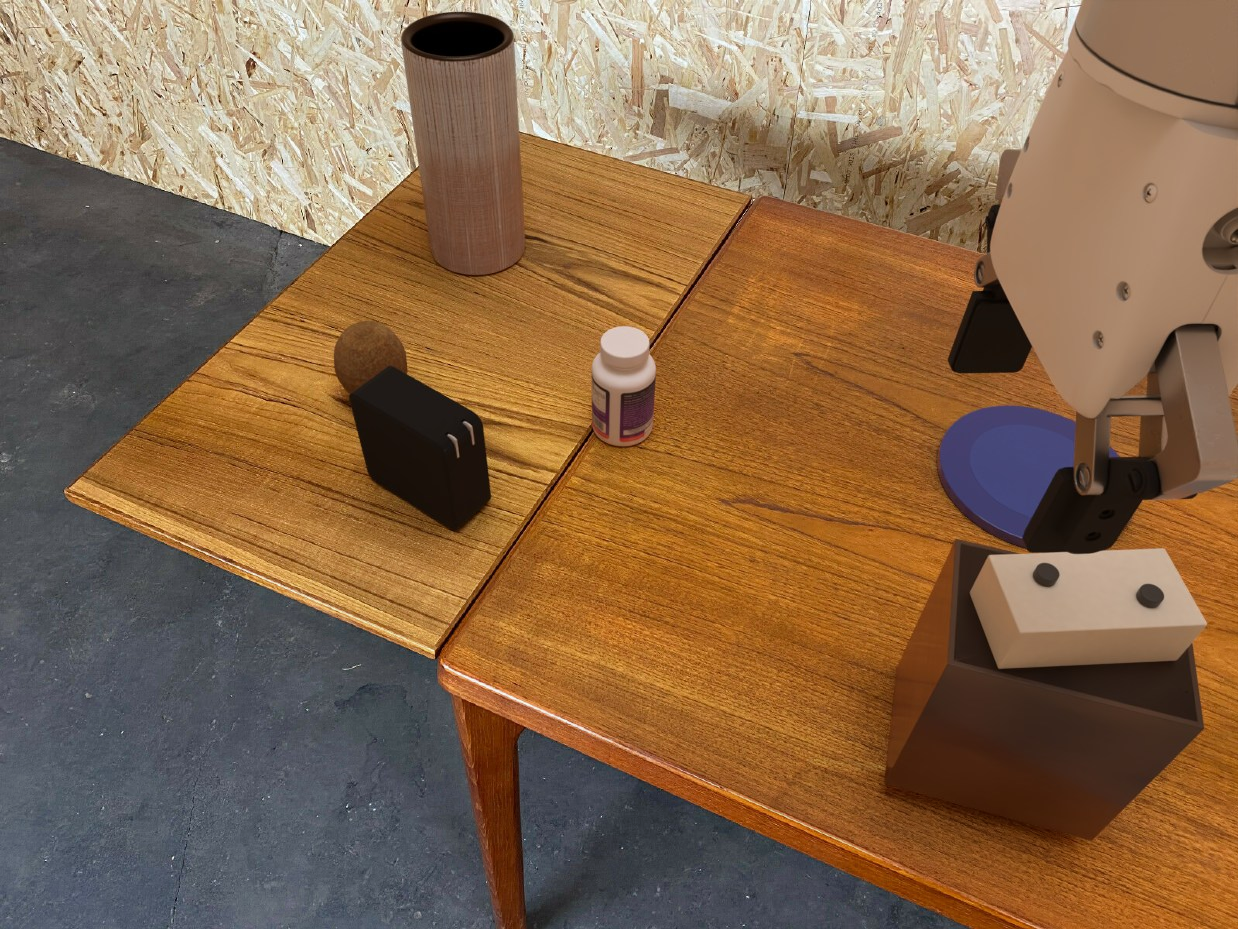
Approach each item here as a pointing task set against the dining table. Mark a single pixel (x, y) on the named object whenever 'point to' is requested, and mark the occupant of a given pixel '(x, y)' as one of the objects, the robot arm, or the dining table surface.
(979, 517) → the plate
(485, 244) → the planter
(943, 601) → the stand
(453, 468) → the electronic device
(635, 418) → the pill bottle
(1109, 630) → the controller
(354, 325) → the fruit
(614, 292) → the dining table surface
